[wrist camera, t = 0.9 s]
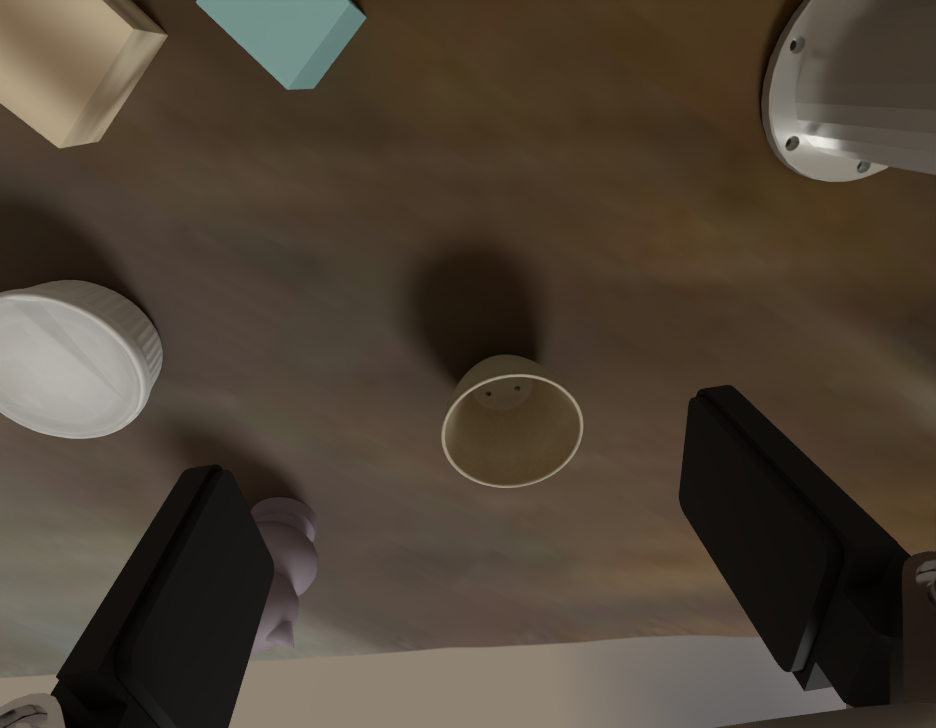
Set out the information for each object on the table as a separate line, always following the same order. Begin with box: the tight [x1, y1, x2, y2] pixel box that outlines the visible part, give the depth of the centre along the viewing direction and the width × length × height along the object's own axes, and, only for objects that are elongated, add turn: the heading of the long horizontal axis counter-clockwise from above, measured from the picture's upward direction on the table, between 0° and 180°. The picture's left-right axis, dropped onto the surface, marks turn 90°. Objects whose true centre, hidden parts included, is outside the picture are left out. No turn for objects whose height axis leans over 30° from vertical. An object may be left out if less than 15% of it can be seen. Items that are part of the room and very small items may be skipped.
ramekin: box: [0, 280, 163, 439], centre depth 35 cm, size 11×11×5 cm
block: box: [196, 0, 366, 90], centre depth 26 cm, size 5×5×6 cm
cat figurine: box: [250, 497, 318, 654], centre depth 42 cm, size 8×8×12 cm
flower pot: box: [441, 355, 583, 488], centre depth 38 cm, size 10×10×7 cm
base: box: [0, 0, 168, 148], centre depth 27 cm, size 8×8×4 cm
